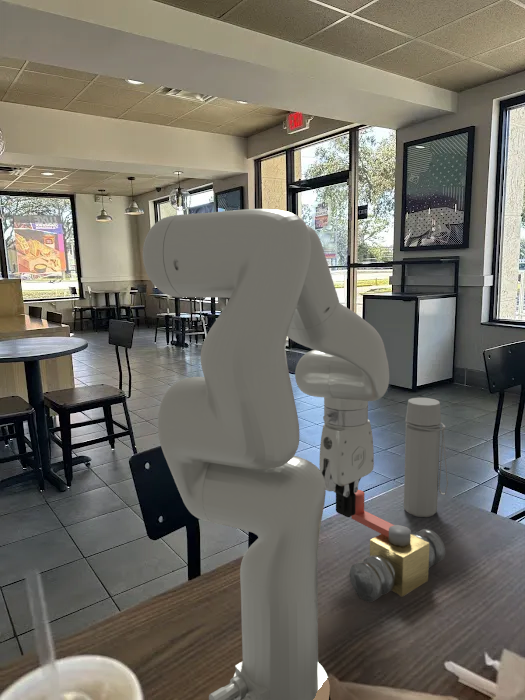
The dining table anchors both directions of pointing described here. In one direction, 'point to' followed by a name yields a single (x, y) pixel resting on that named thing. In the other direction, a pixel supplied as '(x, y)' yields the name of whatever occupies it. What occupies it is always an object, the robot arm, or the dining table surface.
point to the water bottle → (423, 456)
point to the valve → (396, 565)
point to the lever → (380, 523)
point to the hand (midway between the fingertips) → (345, 513)
